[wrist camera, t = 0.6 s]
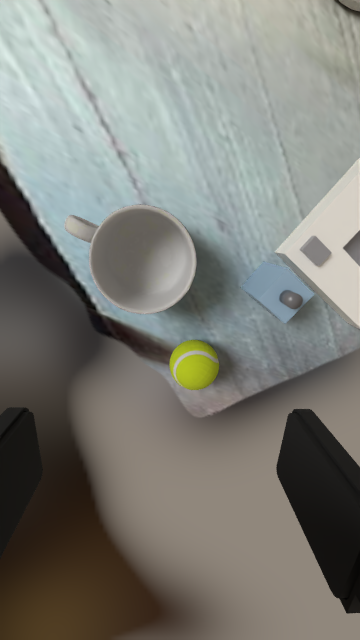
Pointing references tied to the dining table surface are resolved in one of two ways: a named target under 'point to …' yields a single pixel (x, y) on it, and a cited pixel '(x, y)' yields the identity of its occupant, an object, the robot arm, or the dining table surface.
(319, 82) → the dining table surface
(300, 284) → the plug
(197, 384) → the tennis ball
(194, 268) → the teacup
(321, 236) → the socket
